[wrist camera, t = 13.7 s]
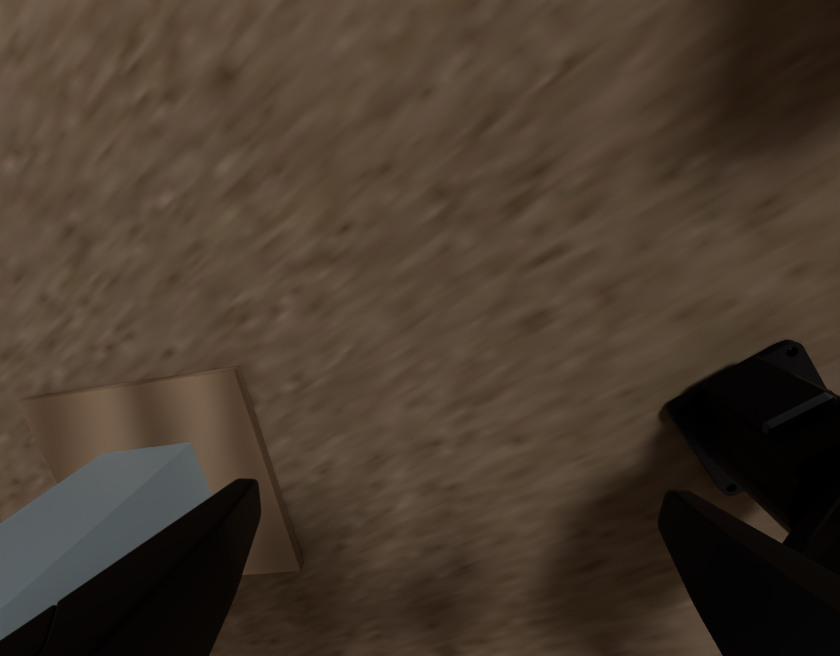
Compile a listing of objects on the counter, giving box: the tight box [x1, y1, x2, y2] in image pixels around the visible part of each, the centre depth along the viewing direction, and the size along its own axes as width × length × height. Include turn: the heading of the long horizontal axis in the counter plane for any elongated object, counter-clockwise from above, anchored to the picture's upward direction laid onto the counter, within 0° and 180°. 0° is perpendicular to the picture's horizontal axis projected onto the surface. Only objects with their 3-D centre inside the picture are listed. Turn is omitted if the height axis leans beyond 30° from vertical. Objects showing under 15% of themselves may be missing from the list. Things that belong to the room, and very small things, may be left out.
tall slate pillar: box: [0, 442, 212, 640], centre depth 18 cm, size 6×6×12 cm
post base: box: [17, 366, 304, 575], centre depth 22 cm, size 14×14×5 cm
